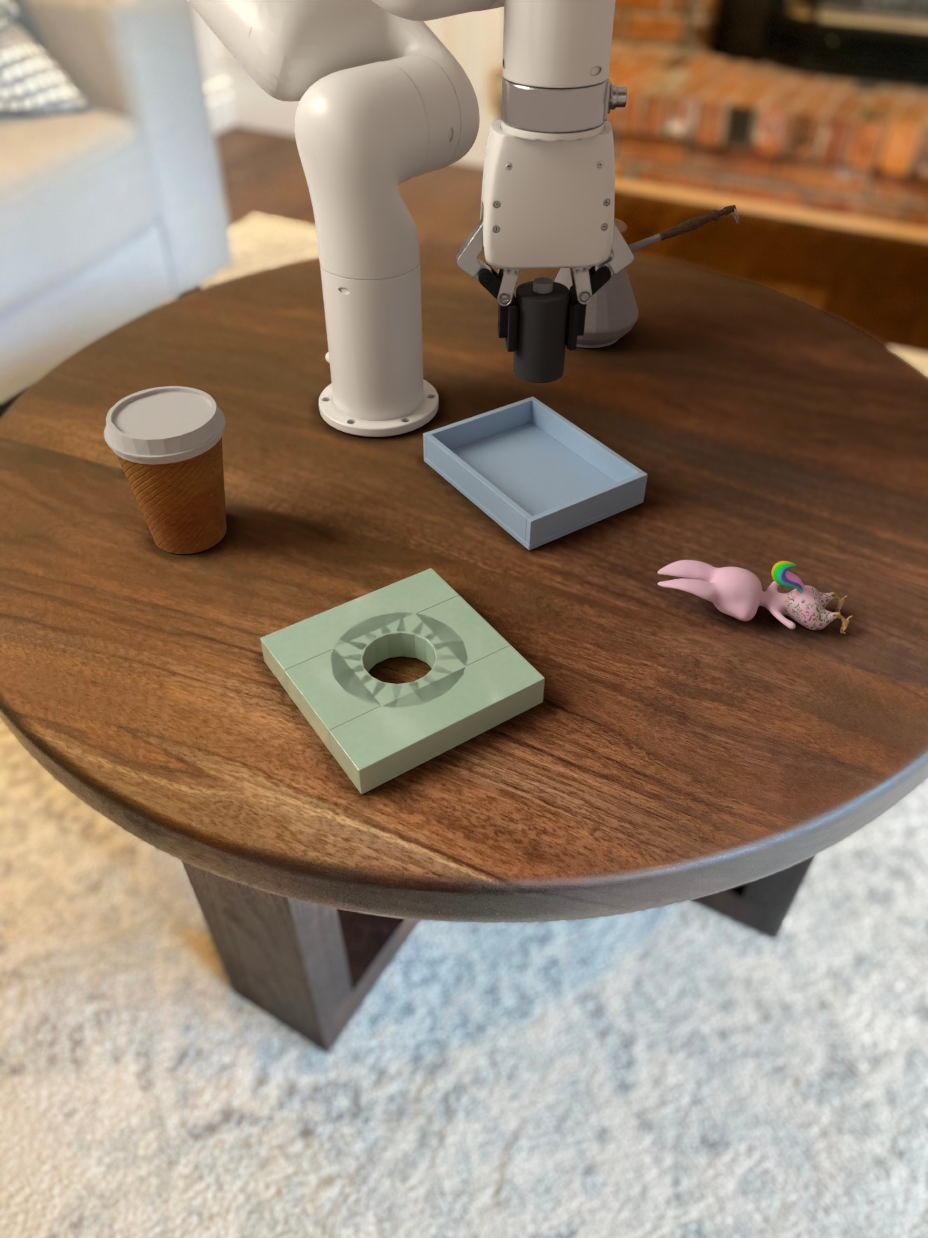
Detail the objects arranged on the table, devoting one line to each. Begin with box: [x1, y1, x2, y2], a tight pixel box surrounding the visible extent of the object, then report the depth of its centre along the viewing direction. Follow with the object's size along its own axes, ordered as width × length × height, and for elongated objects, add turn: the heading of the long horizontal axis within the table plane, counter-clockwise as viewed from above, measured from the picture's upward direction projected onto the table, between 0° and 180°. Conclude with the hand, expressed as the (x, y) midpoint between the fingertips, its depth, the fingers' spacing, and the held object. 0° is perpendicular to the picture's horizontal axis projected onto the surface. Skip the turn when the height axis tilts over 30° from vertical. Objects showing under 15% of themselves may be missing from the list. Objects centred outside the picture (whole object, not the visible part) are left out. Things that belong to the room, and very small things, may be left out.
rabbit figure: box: [657, 559, 853, 634], centre depth 73 cm, size 6×6×15 cm
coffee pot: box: [553, 204, 740, 349], centre depth 108 cm, size 21×12×15 cm, turn 91°
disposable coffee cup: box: [103, 385, 228, 555], centre depth 79 cm, size 10×10×12 cm
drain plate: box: [259, 567, 546, 795], centre depth 69 cm, size 15×15×2 cm
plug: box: [512, 276, 570, 384], centre depth 79 cm, size 4×4×8 cm
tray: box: [422, 396, 648, 551], centre depth 88 cm, size 17×13×3 cm
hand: (539, 341), depth 80 cm, fingers closed on plug, 4 cm apart
